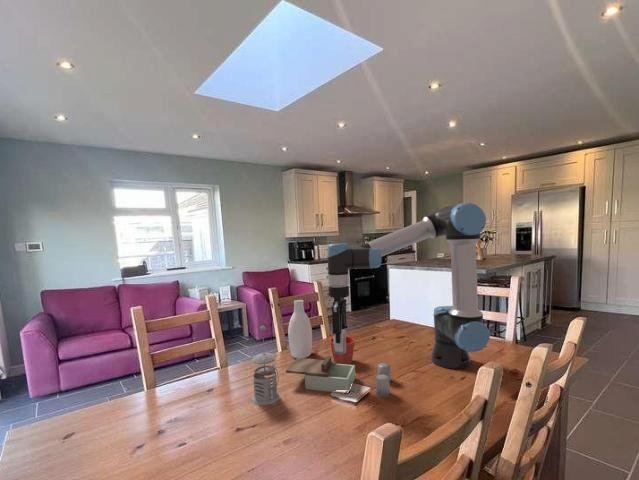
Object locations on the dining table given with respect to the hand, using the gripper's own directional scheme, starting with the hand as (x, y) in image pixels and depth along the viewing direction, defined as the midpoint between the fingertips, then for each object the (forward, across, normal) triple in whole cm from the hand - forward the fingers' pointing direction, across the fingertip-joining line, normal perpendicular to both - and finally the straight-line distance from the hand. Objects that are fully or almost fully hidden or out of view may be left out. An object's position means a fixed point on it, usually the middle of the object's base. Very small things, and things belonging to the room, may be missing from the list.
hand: (340, 348), depth 116 cm
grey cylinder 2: (+13, -6, +15) cm, 21 cm away
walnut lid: (+8, 0, -12) cm, 14 cm away
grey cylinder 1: (+1, 0, 0) cm, 1 cm away
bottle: (+14, -24, -25) cm, 37 cm away
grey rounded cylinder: (+13, +4, +15) cm, 21 cm away
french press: (+14, +15, -23) cm, 31 cm away
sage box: (+13, 0, -4) cm, 14 cm away
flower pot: (+14, -20, -4) cm, 25 cm away
